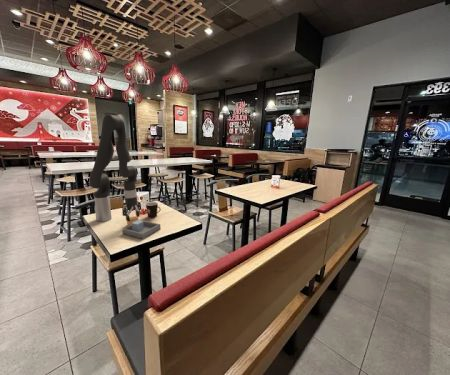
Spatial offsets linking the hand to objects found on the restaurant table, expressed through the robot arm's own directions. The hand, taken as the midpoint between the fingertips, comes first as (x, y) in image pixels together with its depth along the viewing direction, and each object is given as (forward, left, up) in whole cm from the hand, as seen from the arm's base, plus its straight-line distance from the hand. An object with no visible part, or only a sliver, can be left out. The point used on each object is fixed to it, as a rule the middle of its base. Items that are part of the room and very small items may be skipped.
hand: (133, 218), depth 146 cm
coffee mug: (+2, +17, -4) cm, 18 cm away
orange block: (-1, 0, -4) cm, 4 cm away
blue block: (+10, -6, -3) cm, 12 cm away
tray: (+13, -6, -4) cm, 15 cm away
